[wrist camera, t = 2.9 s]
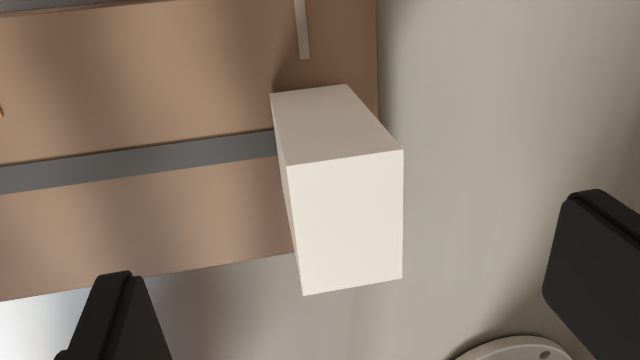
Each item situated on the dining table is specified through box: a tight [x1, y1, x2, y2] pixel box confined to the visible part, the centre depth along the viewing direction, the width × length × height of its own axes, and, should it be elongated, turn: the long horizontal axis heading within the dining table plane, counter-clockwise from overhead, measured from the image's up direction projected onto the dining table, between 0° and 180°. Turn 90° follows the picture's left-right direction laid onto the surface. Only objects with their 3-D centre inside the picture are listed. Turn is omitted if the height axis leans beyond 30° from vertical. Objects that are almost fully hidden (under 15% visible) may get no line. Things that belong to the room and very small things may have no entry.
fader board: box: [0, 0, 378, 302], centre depth 19 cm, size 22×12×3 cm, turn 94°
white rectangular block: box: [269, 84, 403, 296], centre depth 16 cm, size 3×4×7 cm
